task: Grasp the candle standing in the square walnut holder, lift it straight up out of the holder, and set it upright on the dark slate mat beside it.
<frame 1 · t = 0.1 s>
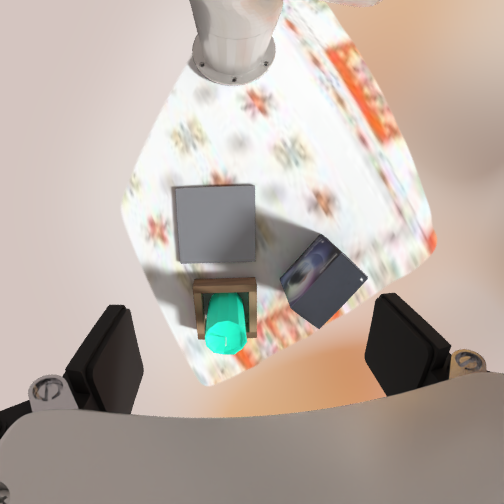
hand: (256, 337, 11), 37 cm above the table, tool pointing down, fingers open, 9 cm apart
holder: (226, 305, 51), on the table
small box: (311, 266, 50), on the table
candle: (226, 304, 51), resting in holder
slate mat: (216, 224, 46), on the table
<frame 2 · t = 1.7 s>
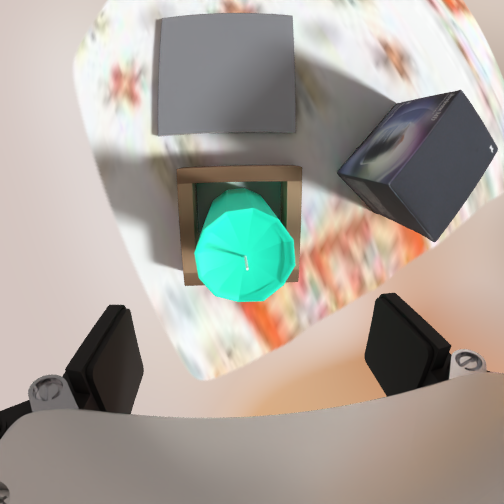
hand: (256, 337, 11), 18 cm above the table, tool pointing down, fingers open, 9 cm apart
holder: (239, 220, 27), on the table
small box: (386, 155, 27), on the table
candle: (239, 219, 28), resting in holder
slate mat: (226, 69, 23), on the table
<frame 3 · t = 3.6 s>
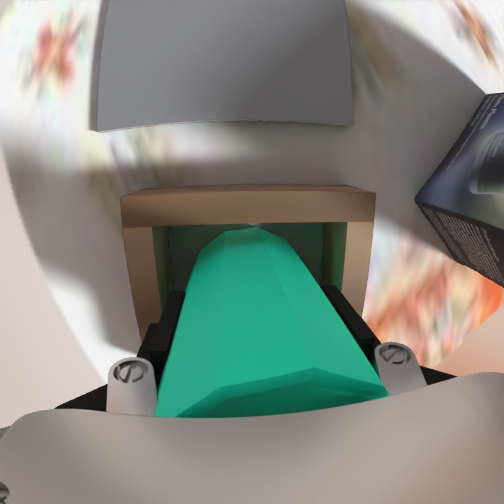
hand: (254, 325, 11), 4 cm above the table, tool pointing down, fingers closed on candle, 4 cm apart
holder: (247, 284, 15), on the table
small box: (475, 173, 14), on the table
candle: (247, 283, 15), resting in holder, touching gripper
slate mat: (224, 12, 11), on the table
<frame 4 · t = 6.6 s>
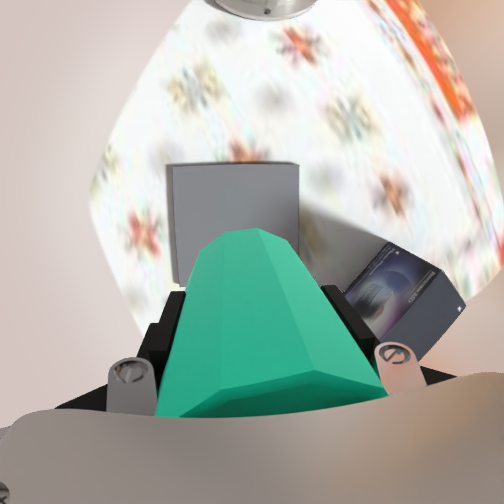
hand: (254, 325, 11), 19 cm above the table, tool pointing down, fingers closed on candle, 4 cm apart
small box: (373, 287, 33), on the table
candle: (247, 283, 15), point 15 cm above the table, touching gripper
slate mat: (236, 226, 29), on the table
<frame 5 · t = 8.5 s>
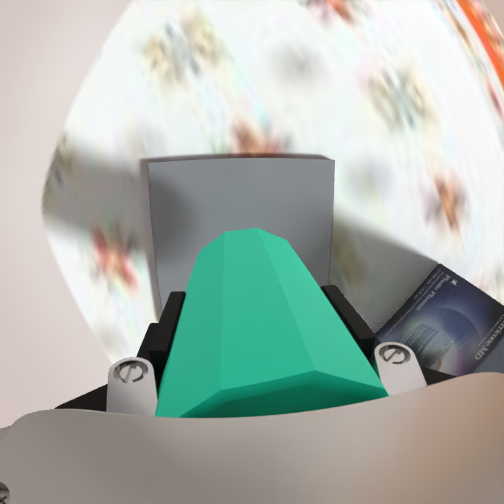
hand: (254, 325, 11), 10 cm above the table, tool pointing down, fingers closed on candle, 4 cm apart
small box: (414, 320, 24), on the table
candle: (247, 283, 15), point 5 cm above the table, touching gripper
slate mat: (243, 247, 20), on the table
when the fingers open (6 cm above the table, at t = 10.0 s): candle drops 1 cm, resting on slate mat.
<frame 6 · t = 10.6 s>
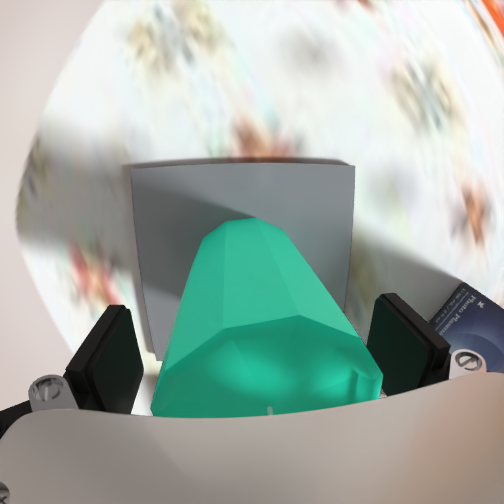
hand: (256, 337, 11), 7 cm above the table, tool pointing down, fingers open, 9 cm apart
small box: (433, 343, 21), on the table
candle: (246, 269, 17), resting on slate mat
slate mat: (245, 270, 17), on the table
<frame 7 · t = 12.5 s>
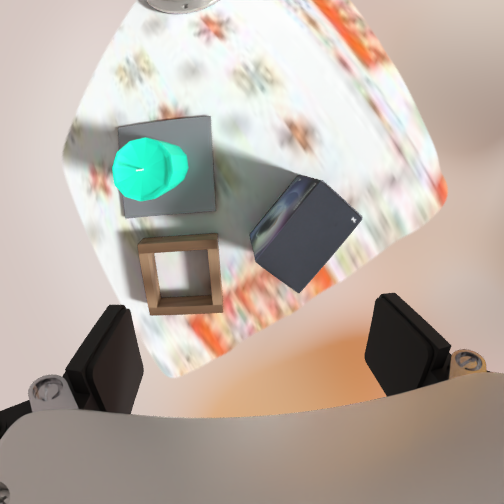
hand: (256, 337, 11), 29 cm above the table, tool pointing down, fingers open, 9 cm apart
holder: (183, 271, 40), on the table
small box: (290, 217, 39), on the table
candle: (165, 166, 35), resting on slate mat
slate mat: (165, 167, 36), on the table
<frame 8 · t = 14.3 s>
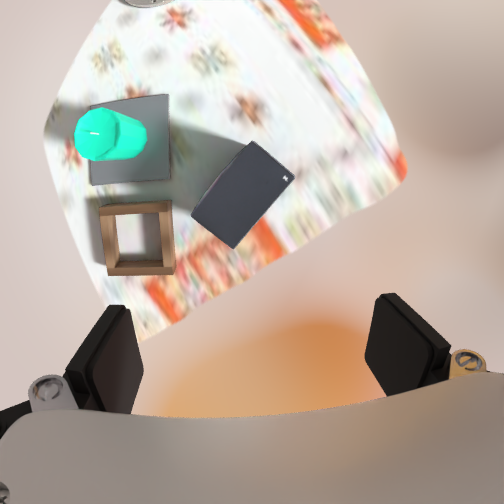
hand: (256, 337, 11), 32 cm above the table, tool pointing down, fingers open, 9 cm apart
holder: (140, 235, 42), on the table
small box: (239, 186, 41), on the table
candle: (127, 138, 37), resting on slate mat
slate mat: (128, 140, 37), on the table
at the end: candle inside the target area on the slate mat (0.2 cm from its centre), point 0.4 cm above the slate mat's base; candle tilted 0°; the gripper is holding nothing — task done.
